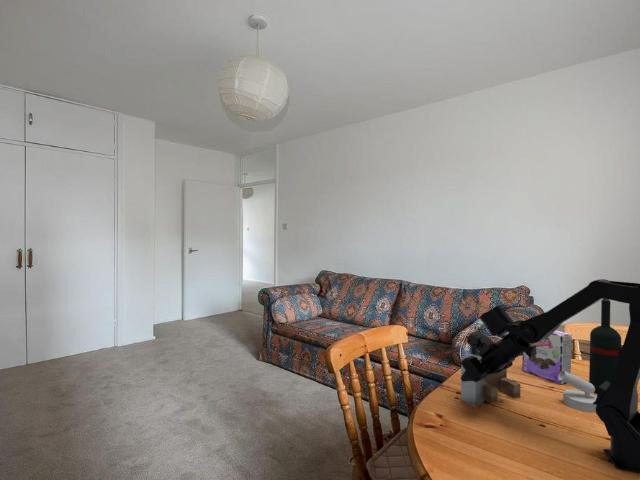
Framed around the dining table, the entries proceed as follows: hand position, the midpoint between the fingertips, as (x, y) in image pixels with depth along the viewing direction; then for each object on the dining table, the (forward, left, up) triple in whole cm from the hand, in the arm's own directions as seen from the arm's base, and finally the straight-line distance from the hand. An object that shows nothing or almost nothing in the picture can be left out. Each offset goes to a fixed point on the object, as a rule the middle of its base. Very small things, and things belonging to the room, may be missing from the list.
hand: (468, 377), depth 105 cm
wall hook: (+7, -30, -7) cm, 32 cm away
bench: (+6, -8, -7) cm, 12 cm away
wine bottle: (+19, -42, -7) cm, 47 cm away
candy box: (+28, -27, -7) cm, 40 cm away
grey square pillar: (-1, -1, -7) cm, 7 cm away
